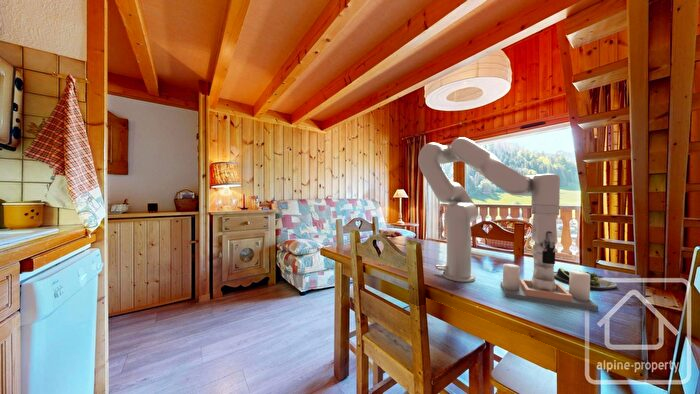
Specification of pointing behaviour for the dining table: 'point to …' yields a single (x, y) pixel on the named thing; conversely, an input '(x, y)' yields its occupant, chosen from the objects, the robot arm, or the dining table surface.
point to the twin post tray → (571, 298)
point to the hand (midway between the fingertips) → (544, 259)
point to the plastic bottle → (542, 271)
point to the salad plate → (594, 280)
